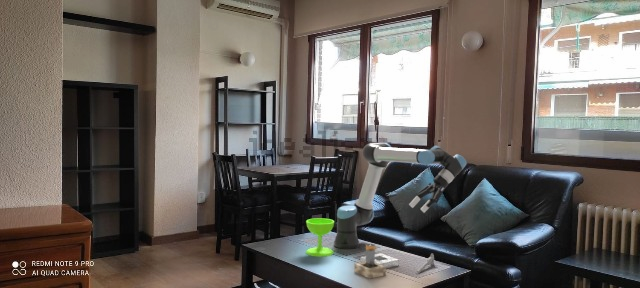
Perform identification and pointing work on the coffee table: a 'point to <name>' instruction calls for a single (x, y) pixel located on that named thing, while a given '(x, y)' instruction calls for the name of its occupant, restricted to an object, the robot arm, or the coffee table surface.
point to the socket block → (383, 260)
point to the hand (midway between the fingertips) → (416, 208)
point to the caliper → (426, 263)
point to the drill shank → (370, 255)
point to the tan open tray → (370, 270)
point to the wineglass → (320, 235)
